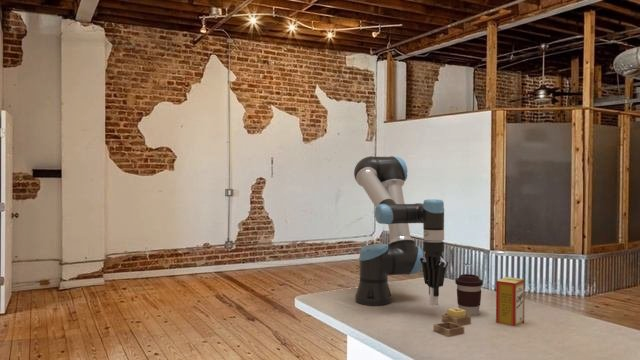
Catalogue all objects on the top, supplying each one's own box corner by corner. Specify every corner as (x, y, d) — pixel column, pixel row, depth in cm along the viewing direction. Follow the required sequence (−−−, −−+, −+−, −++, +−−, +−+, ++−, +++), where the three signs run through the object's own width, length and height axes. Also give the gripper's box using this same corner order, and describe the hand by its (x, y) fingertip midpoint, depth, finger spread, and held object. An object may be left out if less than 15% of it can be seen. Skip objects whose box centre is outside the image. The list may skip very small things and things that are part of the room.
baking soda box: (514, 328, 179) (515, 282, 179) (496, 325, 183) (496, 279, 183) (524, 322, 186) (524, 278, 186) (506, 319, 190) (506, 275, 190)
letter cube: (446, 321, 184) (447, 308, 184) (456, 320, 186) (456, 307, 186) (456, 325, 180) (456, 311, 180) (465, 323, 182) (465, 310, 182)
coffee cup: (483, 319, 190) (484, 278, 189) (455, 318, 192) (456, 277, 191) (481, 312, 199) (481, 273, 199) (454, 311, 201) (454, 272, 201)
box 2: (433, 333, 173) (433, 324, 173) (449, 330, 177) (449, 321, 177) (448, 339, 167) (448, 330, 167) (464, 336, 171) (464, 327, 171)
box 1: (441, 322, 184) (441, 314, 184) (456, 320, 188) (456, 311, 188) (455, 328, 178) (456, 319, 178) (470, 325, 182) (471, 316, 182)
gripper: (414, 239, 197) (414, 302, 197) (437, 243, 185) (438, 309, 185) (429, 238, 201) (429, 300, 200) (453, 242, 189) (453, 307, 189)
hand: (433, 304), depth 193 cm, fingers closed
